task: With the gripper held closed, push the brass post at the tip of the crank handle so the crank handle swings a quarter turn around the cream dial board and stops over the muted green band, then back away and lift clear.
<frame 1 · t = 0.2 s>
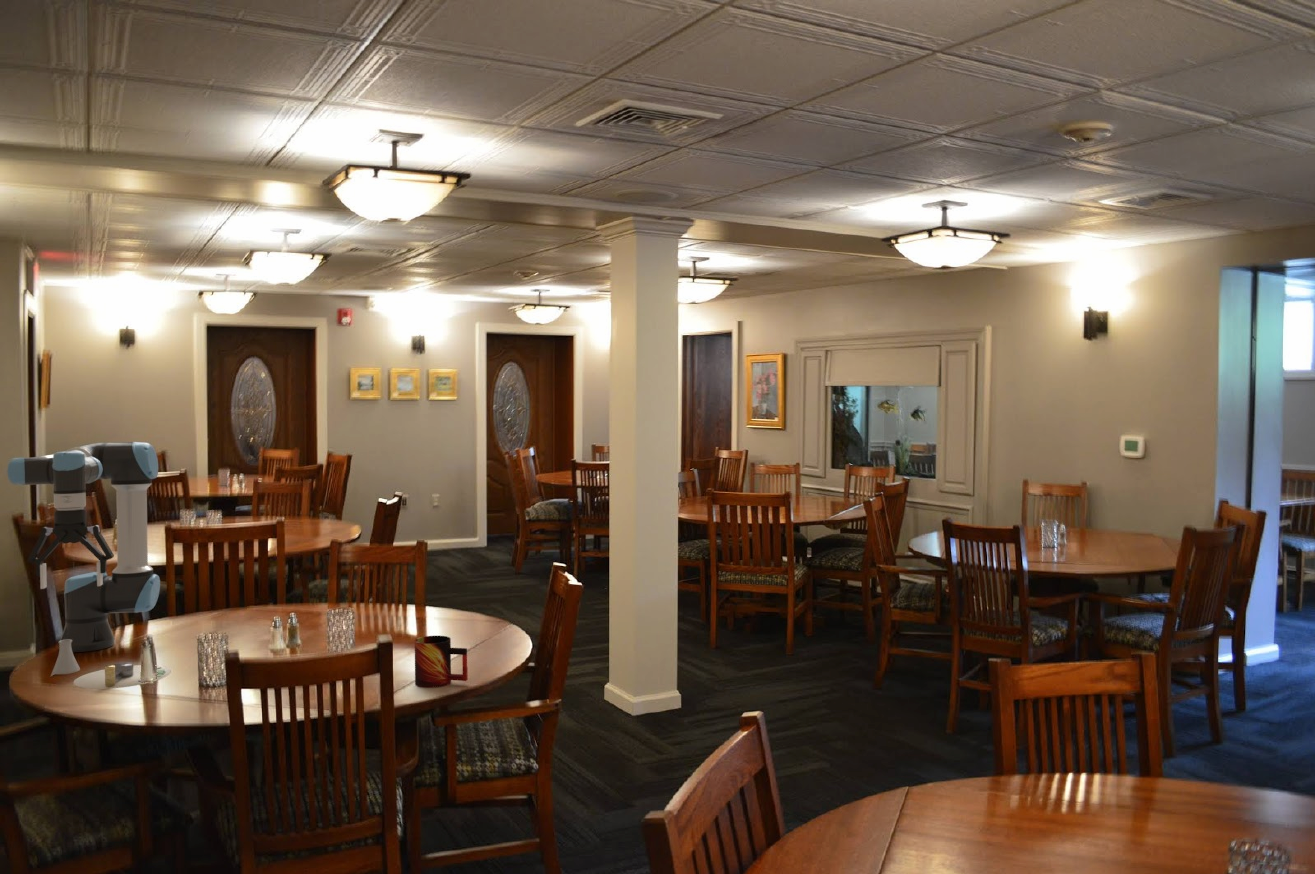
hand: (72, 586, 271), 27 cm above the table, fingers open, 13 cm apart
flask: (66, 676, 284), on the table
mug: (440, 683, 276), on the table
crank handle: (117, 670, 274), point 4 cm above the table, hinge at 0.0°
dial board: (123, 680, 278), on the table
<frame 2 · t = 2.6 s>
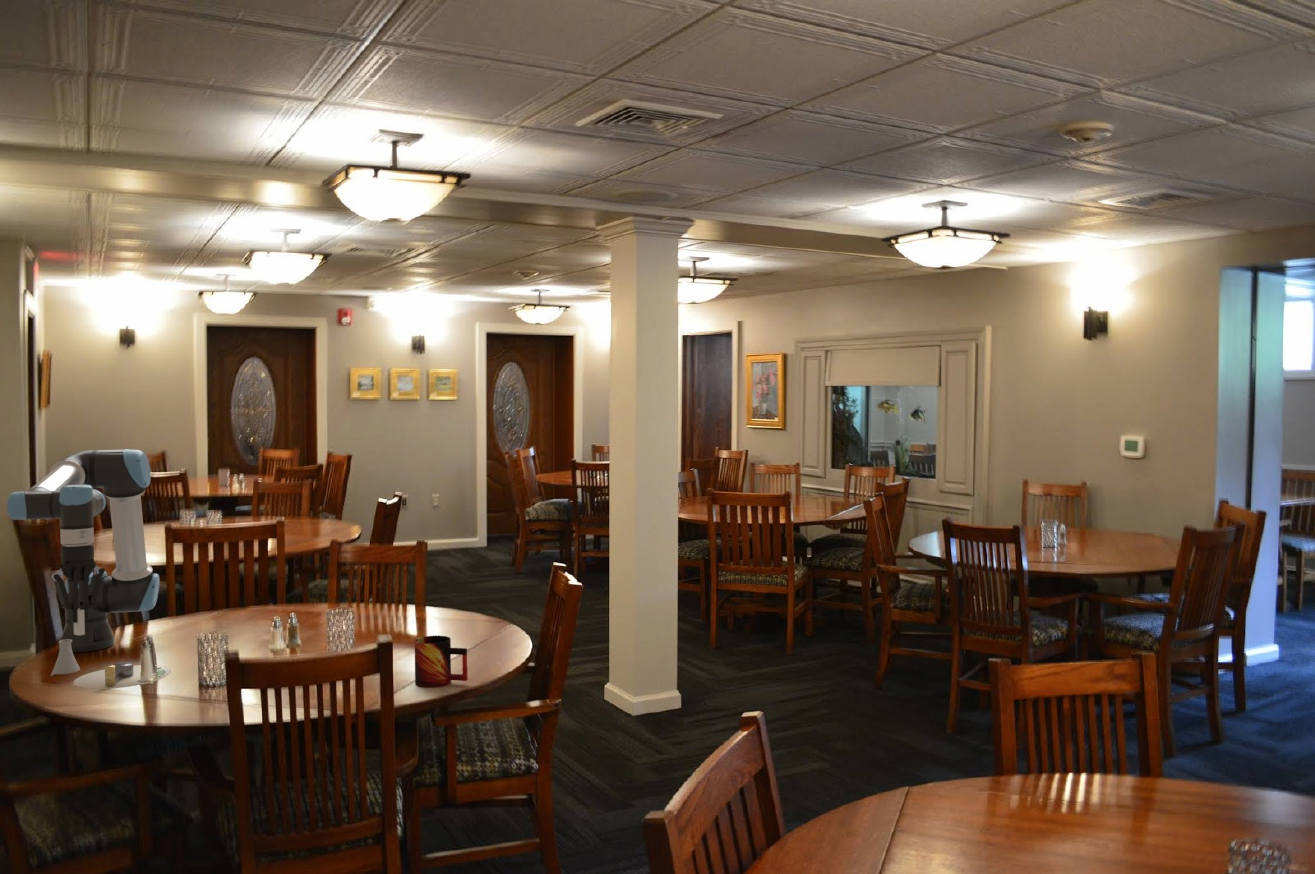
hand: (79, 634, 262), 17 cm above the table, fingers closed
nothing on the table moved.
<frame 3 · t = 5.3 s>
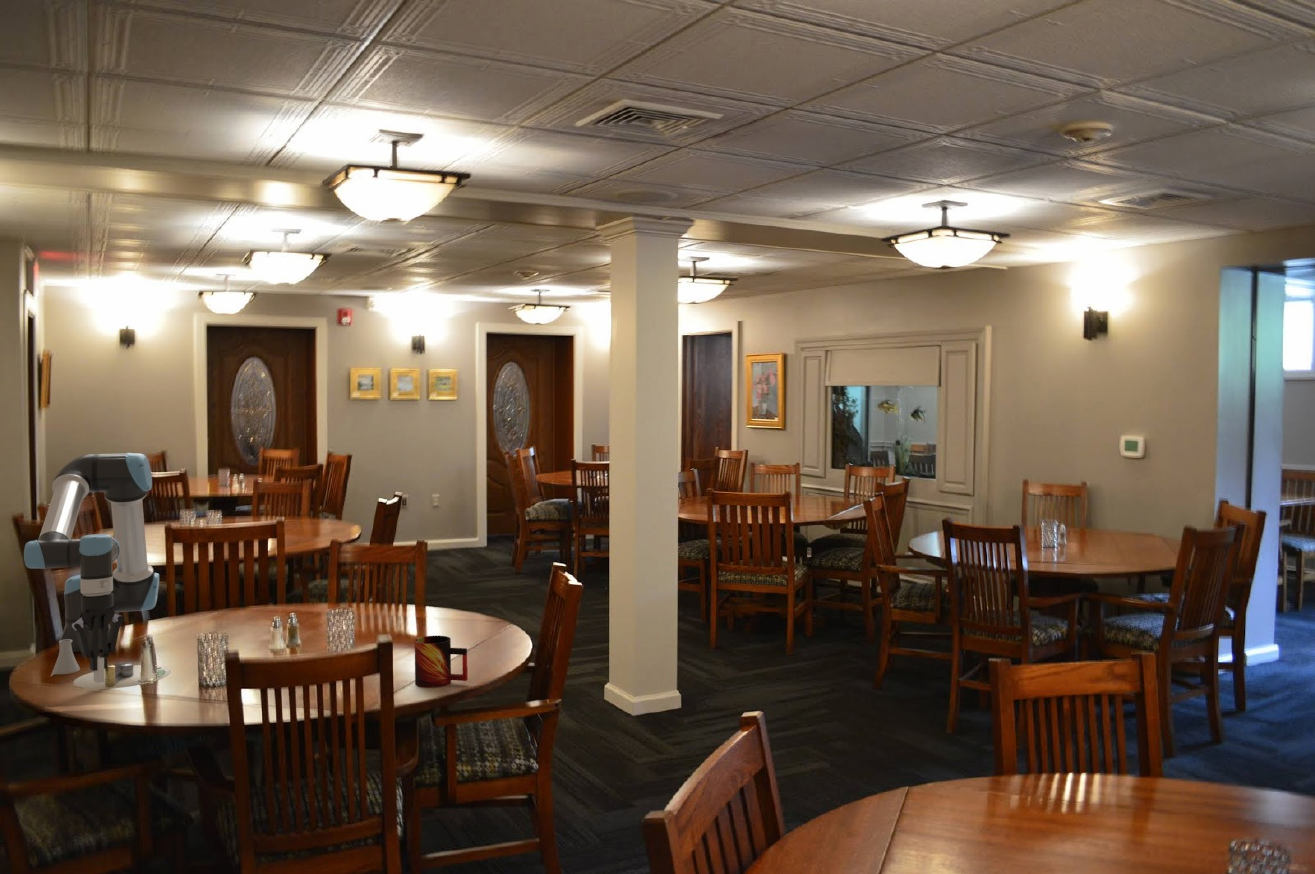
hand: (99, 681, 266), 3 cm above the table, fingers closed
crank handle: (117, 670, 274), point 4 cm above the table, hinge at 0.0°, touching gripper
everything else where it was.
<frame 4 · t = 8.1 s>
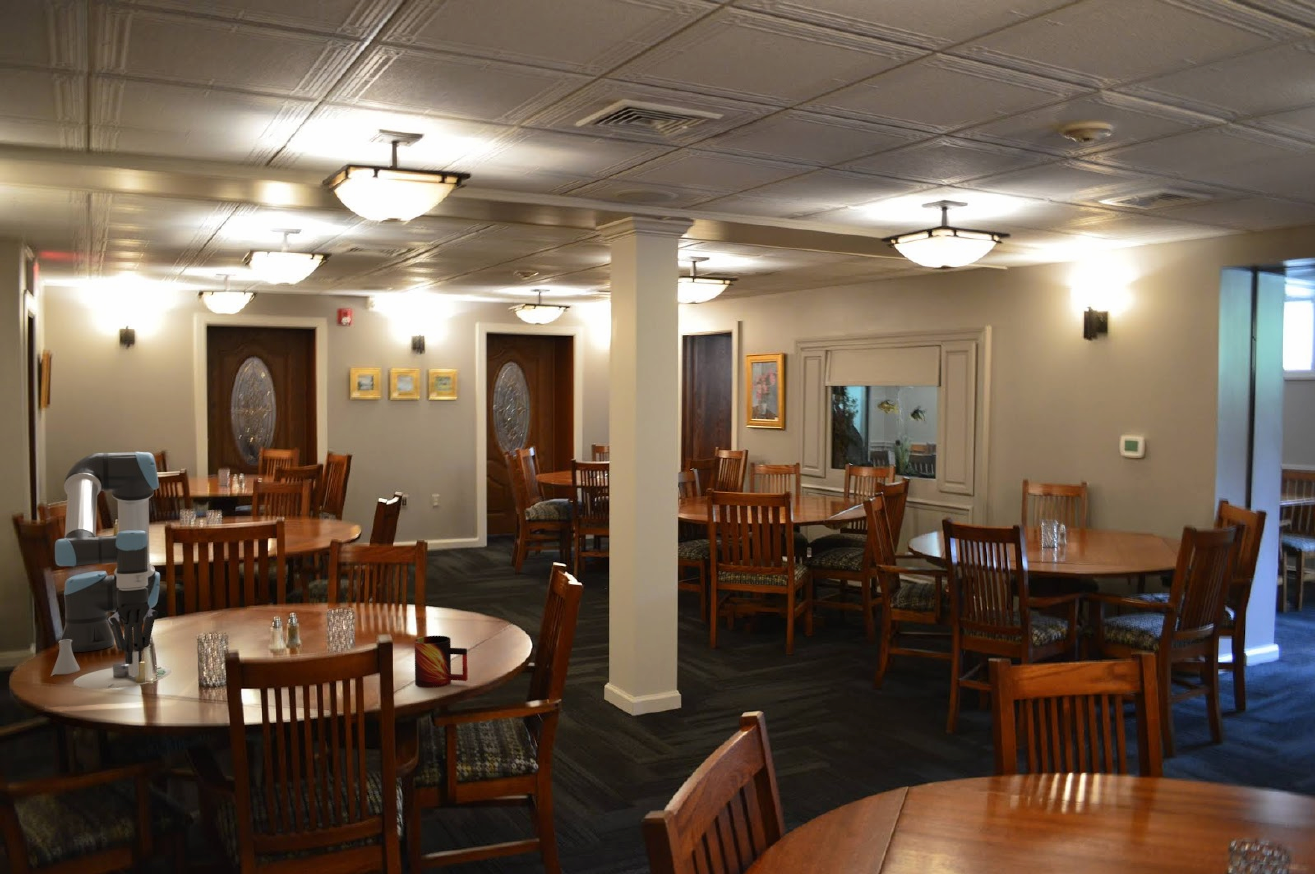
hand: (133, 675, 270), 4 cm above the table, fingers closed
crank handle: (130, 668, 275), point 4 cm above the table, hinge at 42.5°, touching gripper
everything else where it was.
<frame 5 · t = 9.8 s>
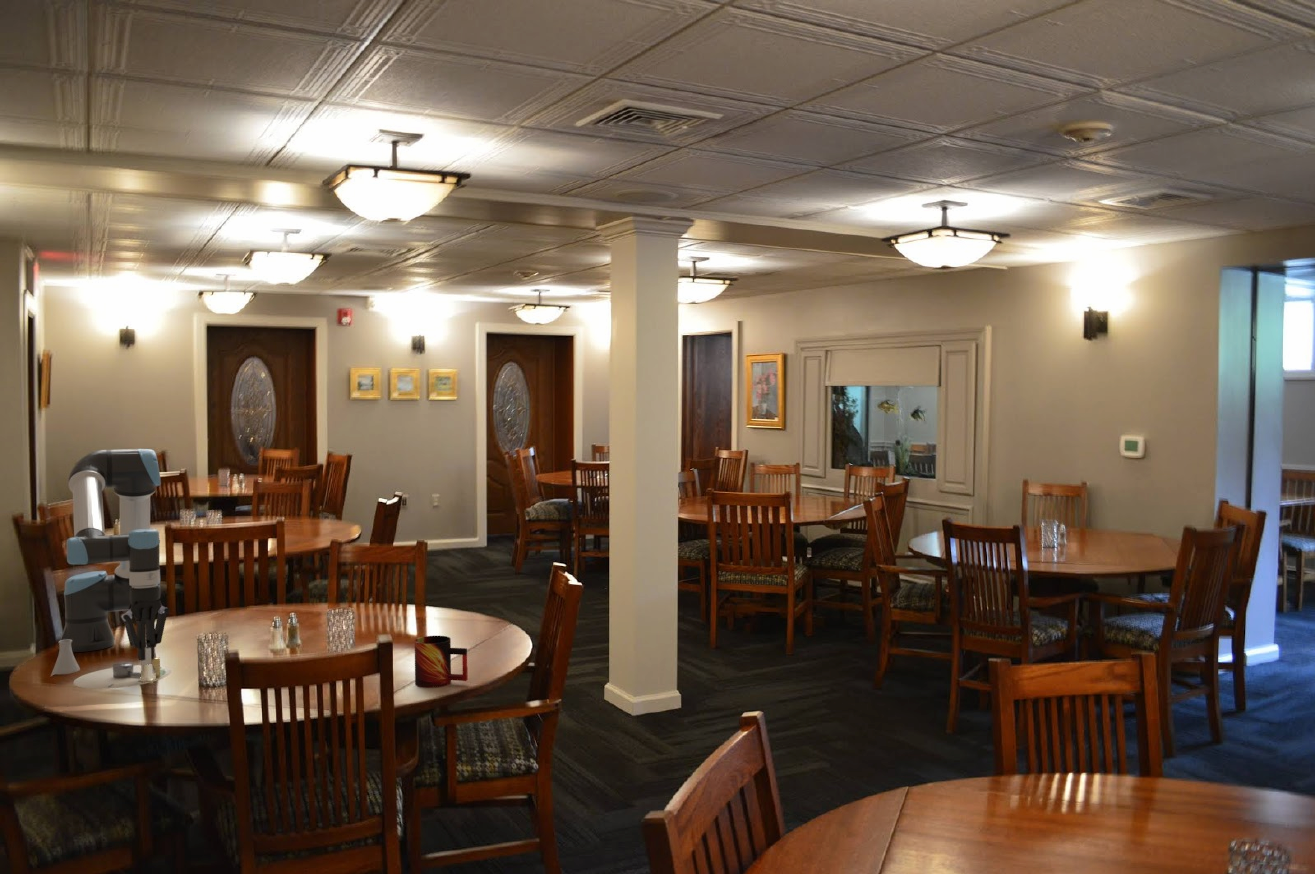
hand: (146, 671, 275), 3 cm above the table, fingers closed
crank handle: (137, 666, 277), point 4 cm above the table, hinge at 69.6°, touching gripper
everything else where it was.
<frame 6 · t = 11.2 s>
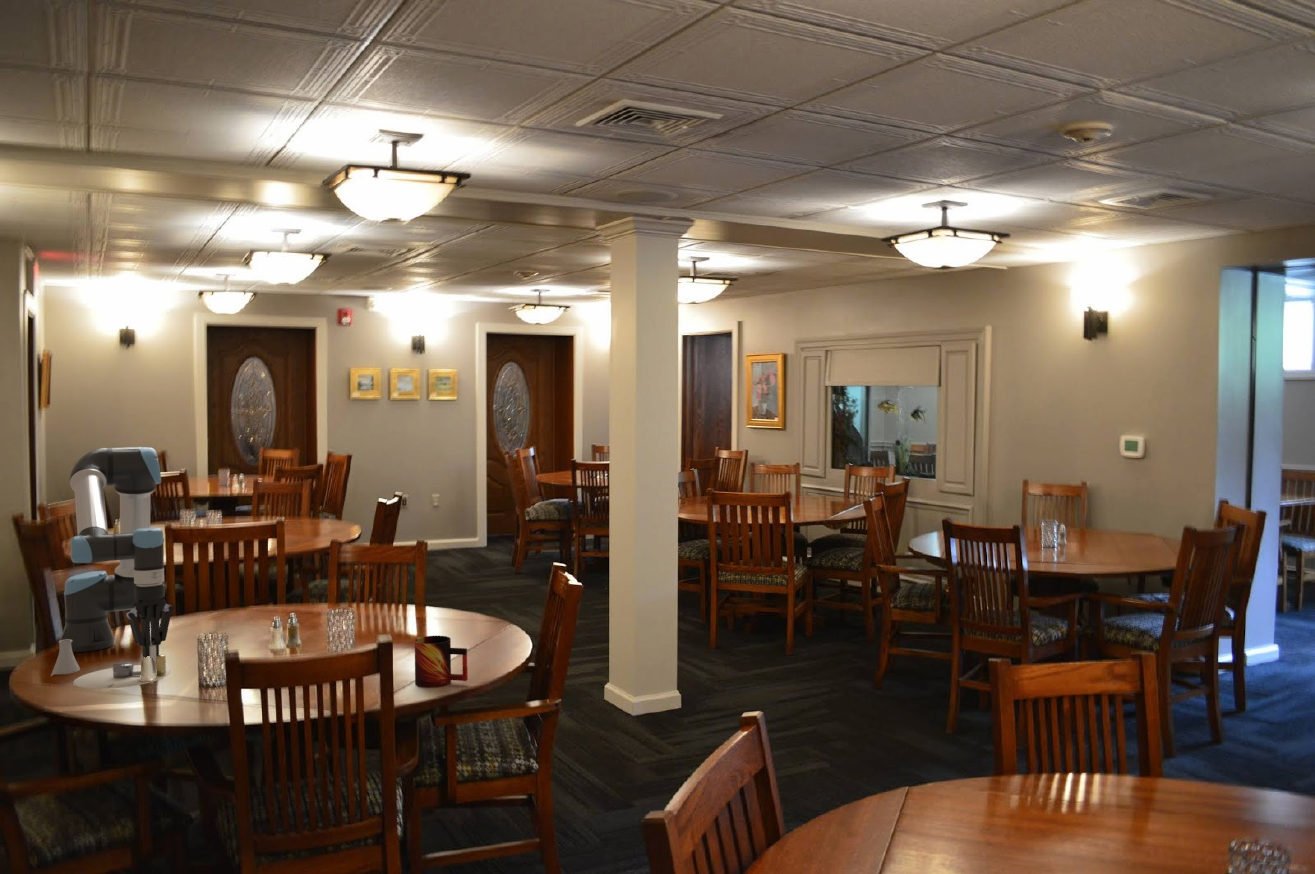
hand: (151, 668, 278), 3 cm above the table, fingers closed
crank handle: (139, 665, 279), point 4 cm above the table, hinge at 86.2°, touching gripper
everything else where it was.
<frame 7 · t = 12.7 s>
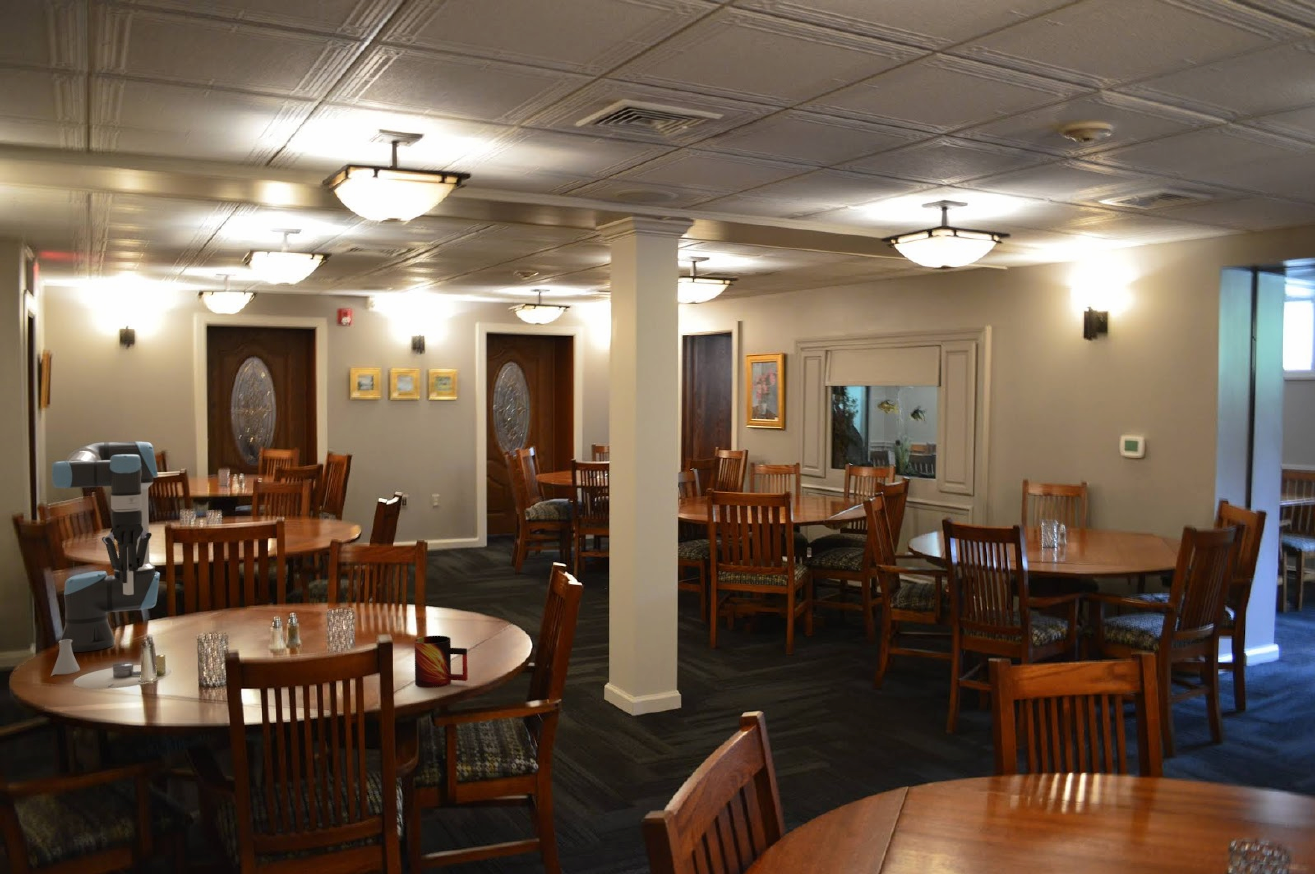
hand: (128, 593, 280), 24 cm above the table, fingers closed
crank handle: (139, 665, 278), point 4 cm above the table, hinge at 85.5°
everything else where it was.
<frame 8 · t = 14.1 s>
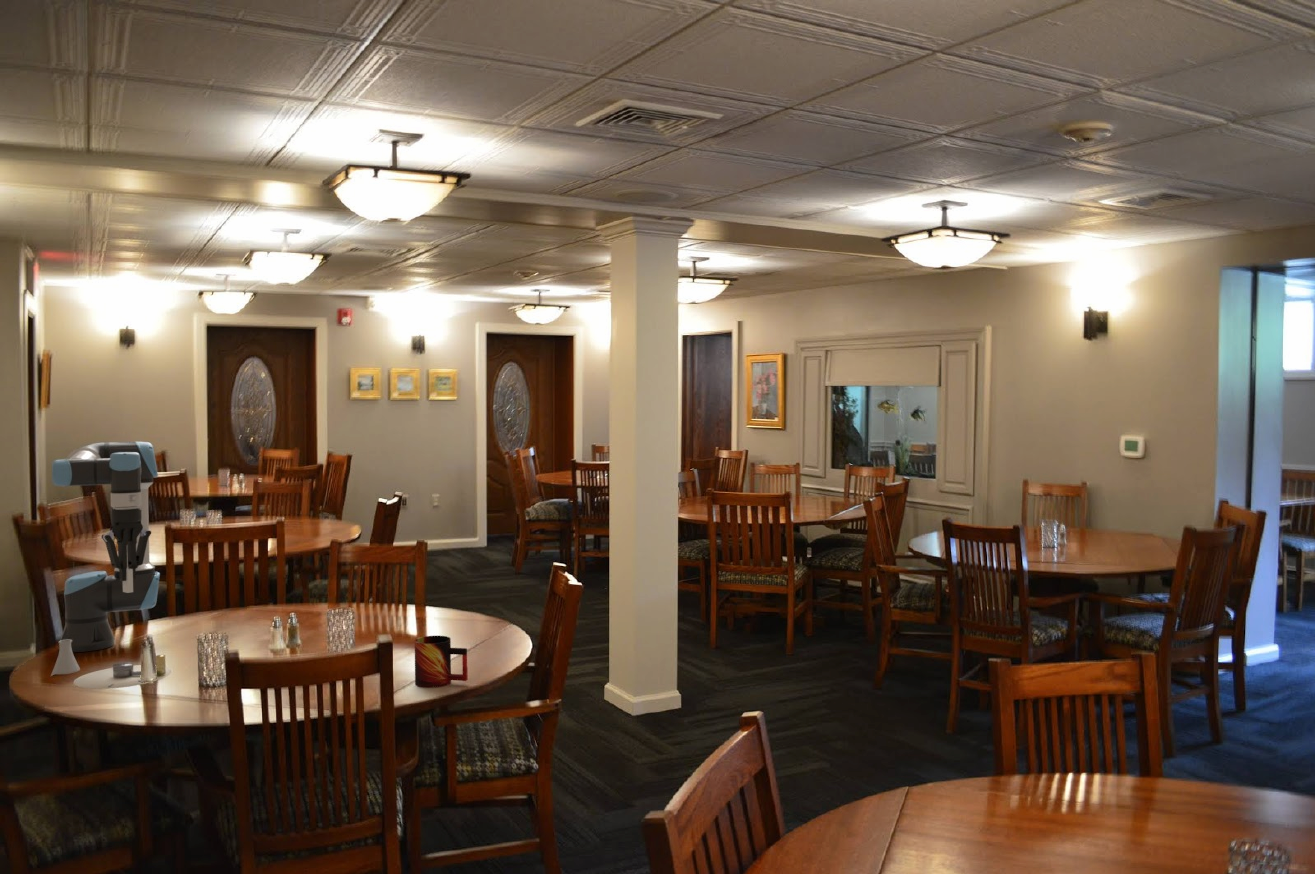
hand: (127, 591, 280), 24 cm above the table, fingers closed
nothing on the table moved.
at the end: crank handle at +86° (first picture: +0°) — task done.
